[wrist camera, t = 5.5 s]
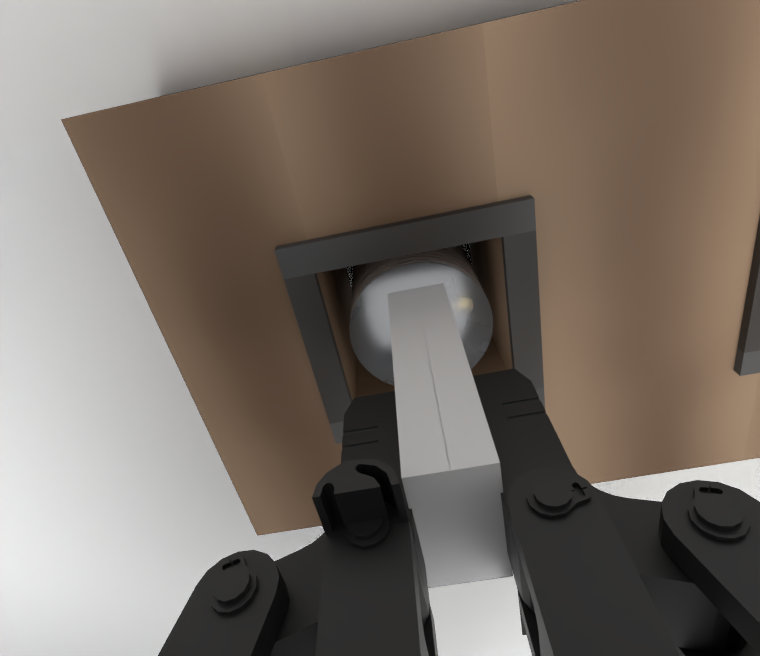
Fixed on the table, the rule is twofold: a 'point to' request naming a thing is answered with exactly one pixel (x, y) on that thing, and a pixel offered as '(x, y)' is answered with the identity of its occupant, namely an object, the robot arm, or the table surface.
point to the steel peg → (411, 273)
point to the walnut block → (462, 231)
